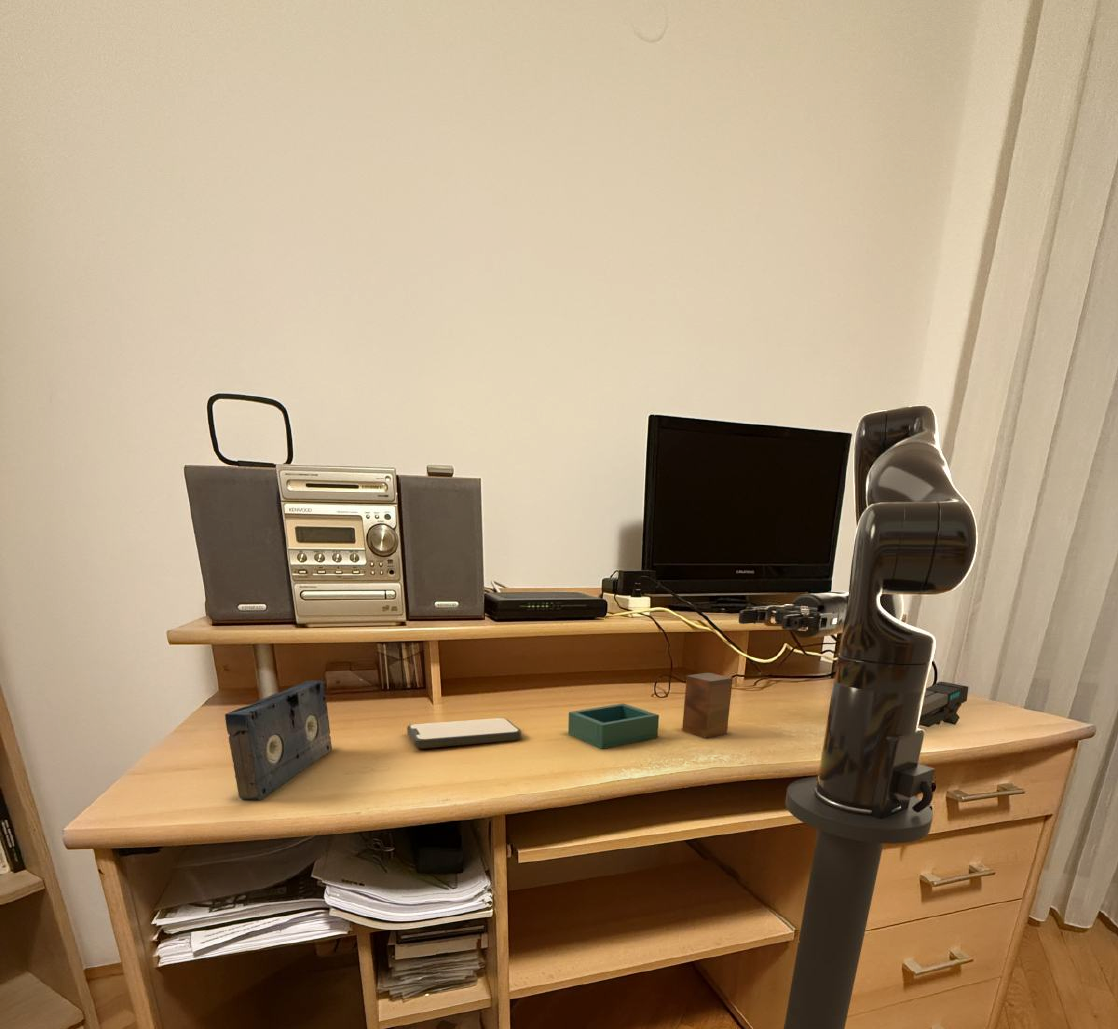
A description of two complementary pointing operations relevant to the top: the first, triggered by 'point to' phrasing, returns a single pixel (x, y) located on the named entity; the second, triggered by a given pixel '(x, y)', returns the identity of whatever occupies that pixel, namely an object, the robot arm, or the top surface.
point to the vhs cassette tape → (278, 738)
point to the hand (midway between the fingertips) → (761, 619)
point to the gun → (942, 703)
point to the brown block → (707, 704)
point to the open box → (613, 725)
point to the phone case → (462, 732)
